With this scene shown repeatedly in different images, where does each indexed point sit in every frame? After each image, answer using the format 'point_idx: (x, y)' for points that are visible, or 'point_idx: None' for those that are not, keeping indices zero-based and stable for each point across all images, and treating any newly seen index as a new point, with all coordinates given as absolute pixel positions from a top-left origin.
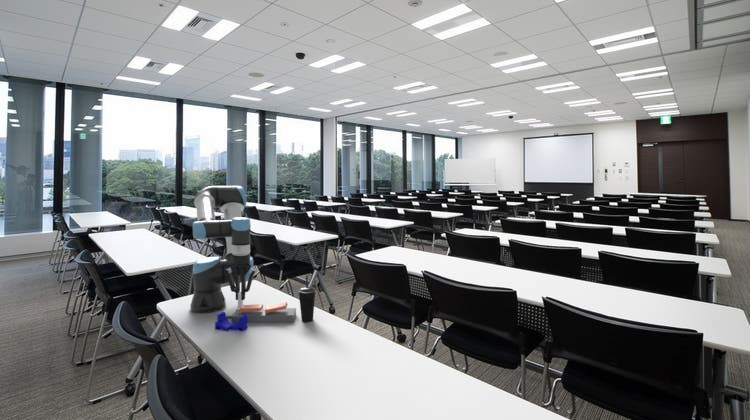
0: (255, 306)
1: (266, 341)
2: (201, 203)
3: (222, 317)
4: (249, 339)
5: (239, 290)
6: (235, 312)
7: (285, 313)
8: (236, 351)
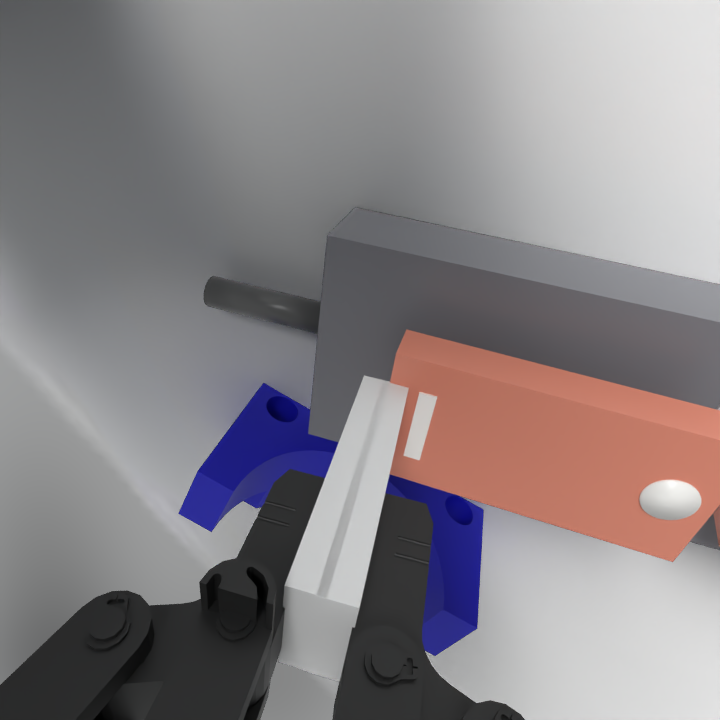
0: (605, 488)
1: (603, 695)
2: None
3: (241, 495)
4: (496, 640)
5: (269, 652)
6: (332, 344)
7: None
8: None
